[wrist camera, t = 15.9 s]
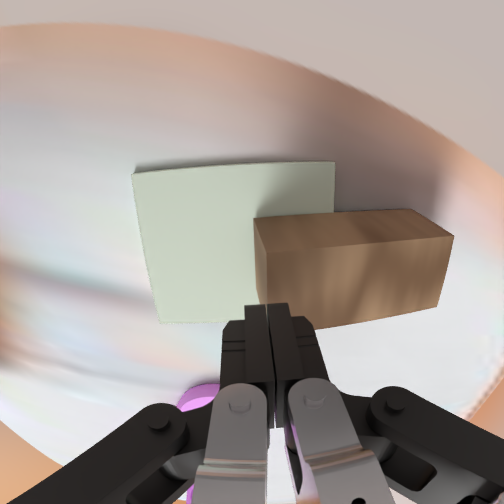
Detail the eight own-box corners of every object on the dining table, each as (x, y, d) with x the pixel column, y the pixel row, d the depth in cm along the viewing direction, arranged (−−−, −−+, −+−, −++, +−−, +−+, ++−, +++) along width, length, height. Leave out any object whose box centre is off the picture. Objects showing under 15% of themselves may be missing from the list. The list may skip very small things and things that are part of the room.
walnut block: (256, 288, 17) (401, 271, 18) (268, 336, 14) (436, 306, 14) (253, 217, 15) (411, 208, 16) (266, 252, 12) (454, 235, 13)
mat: (324, 311, 19) (325, 315, 19) (161, 319, 19) (159, 323, 18) (333, 161, 15) (335, 162, 15) (133, 173, 15) (131, 174, 15)
